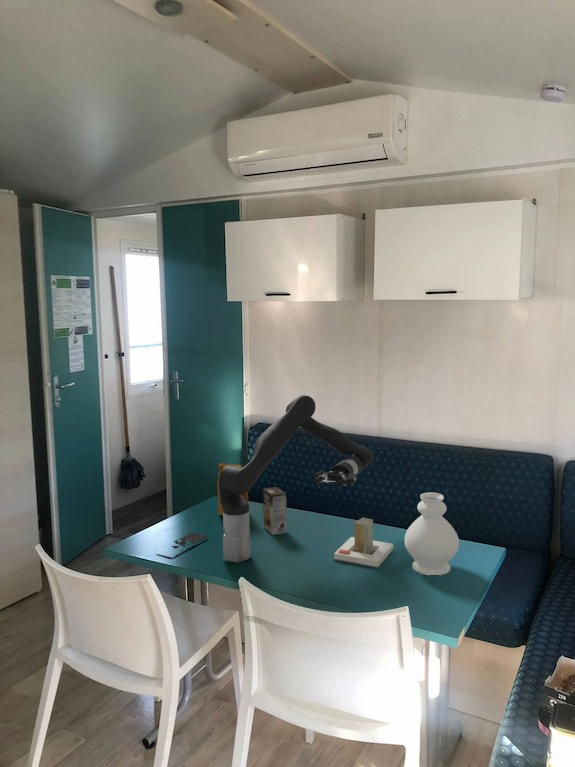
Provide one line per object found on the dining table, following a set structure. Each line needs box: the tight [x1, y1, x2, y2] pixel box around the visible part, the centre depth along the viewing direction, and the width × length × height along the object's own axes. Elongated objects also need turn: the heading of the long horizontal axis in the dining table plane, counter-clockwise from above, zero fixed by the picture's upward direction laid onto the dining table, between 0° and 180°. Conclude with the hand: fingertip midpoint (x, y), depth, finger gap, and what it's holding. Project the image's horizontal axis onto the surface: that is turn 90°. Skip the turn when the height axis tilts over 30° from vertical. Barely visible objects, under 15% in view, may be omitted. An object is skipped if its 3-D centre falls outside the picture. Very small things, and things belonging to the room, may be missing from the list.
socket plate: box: [333, 536, 394, 569], centre depth 226 cm, size 16×16×3 cm
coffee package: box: [216, 463, 249, 516], centre depth 268 cm, size 10×12×22 cm
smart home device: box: [172, 532, 208, 549], centre depth 238 cm, size 8×2×20 cm
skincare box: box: [353, 517, 374, 554], centre depth 225 cm, size 6×4×12 cm
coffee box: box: [262, 486, 288, 536], centre depth 250 cm, size 9×6×16 cm
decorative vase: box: [404, 491, 460, 576], centre depth 213 cm, size 18×18×25 cm
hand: (327, 483), depth 224 cm, fingers open, 8 cm apart
